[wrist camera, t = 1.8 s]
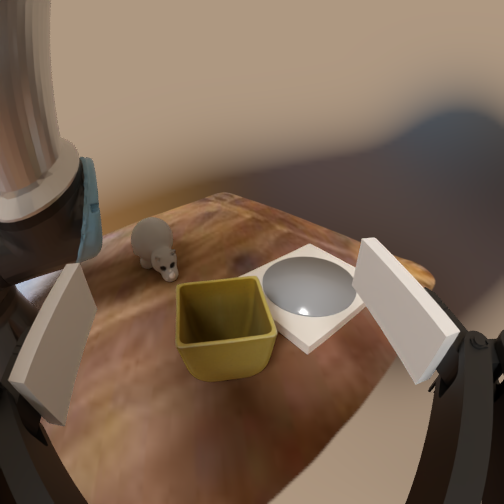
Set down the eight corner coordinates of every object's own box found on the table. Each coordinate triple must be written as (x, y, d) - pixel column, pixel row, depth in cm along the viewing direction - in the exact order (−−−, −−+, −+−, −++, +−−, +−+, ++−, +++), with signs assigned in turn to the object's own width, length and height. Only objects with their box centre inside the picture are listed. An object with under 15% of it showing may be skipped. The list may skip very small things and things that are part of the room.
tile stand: (228, 289, 42) (227, 280, 41) (308, 250, 52) (309, 242, 51) (307, 354, 32) (309, 345, 31) (382, 291, 41) (385, 282, 41)
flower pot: (273, 388, 28) (279, 334, 23) (191, 399, 26) (174, 347, 22) (256, 331, 35) (257, 274, 31) (188, 340, 34) (175, 283, 29)
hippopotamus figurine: (153, 301, 44) (148, 271, 37) (128, 249, 49) (123, 215, 43) (191, 285, 47) (194, 254, 41) (163, 237, 53) (163, 203, 46)
